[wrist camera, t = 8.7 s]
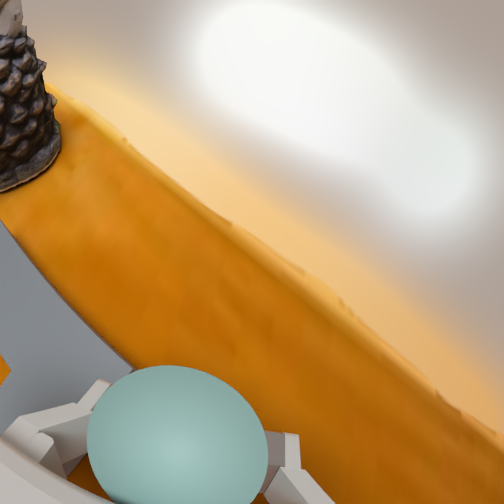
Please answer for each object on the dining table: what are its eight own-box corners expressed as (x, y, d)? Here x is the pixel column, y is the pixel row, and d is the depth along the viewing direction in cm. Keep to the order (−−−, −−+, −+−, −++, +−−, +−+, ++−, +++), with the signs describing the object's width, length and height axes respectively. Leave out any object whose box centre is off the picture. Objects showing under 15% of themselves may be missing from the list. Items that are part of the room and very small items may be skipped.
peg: (253, 423, 13) (303, 430, 6) (208, 483, 12) (202, 557, 4) (187, 378, 14) (154, 330, 7) (142, 436, 12) (57, 452, 5)
